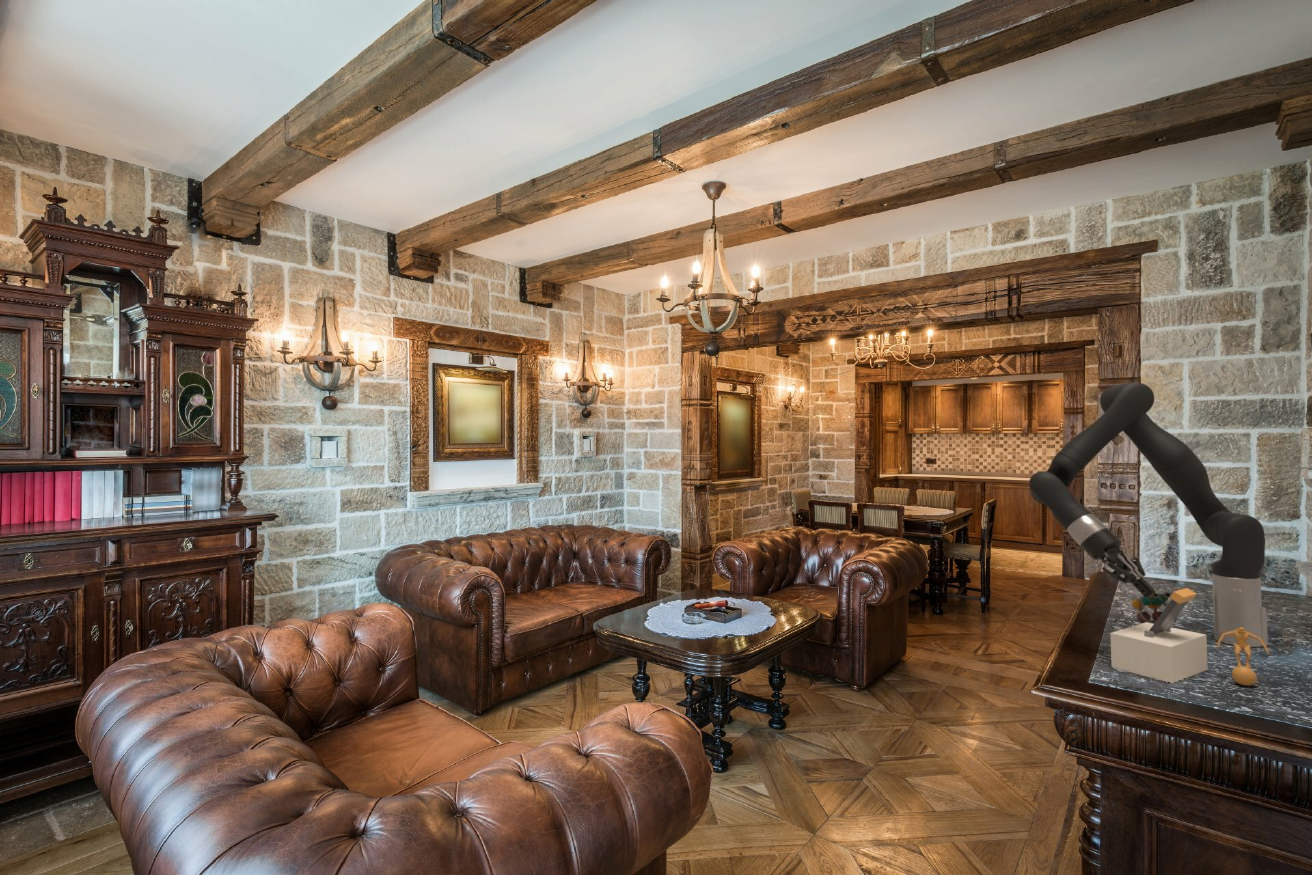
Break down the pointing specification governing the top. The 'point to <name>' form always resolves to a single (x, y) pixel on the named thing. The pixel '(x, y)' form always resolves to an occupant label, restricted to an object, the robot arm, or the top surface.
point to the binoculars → (1153, 603)
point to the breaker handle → (1172, 610)
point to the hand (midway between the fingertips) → (1151, 595)
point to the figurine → (1245, 673)
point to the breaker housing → (1159, 652)
